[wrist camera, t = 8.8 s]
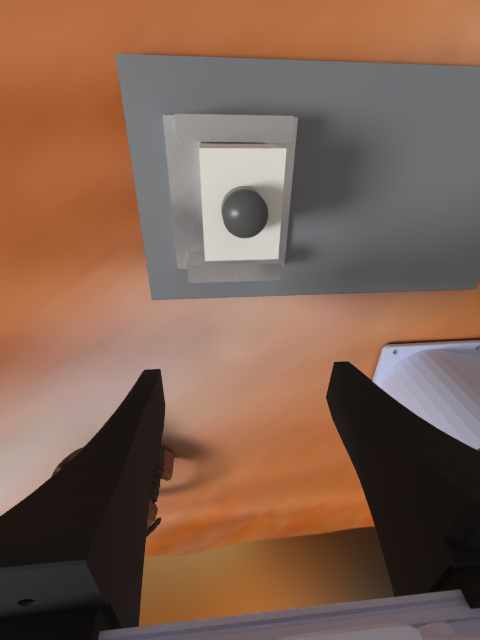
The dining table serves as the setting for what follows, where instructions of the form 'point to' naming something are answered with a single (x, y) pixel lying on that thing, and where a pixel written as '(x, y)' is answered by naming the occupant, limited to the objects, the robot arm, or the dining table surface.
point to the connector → (241, 199)
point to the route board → (327, 169)
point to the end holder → (186, 188)
